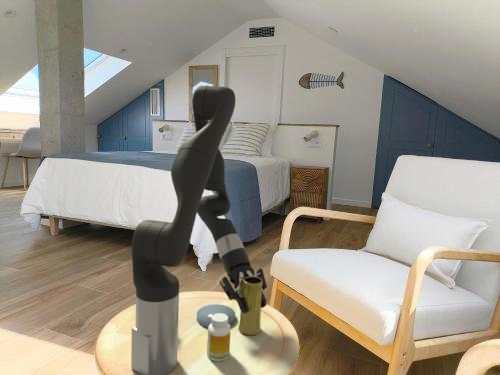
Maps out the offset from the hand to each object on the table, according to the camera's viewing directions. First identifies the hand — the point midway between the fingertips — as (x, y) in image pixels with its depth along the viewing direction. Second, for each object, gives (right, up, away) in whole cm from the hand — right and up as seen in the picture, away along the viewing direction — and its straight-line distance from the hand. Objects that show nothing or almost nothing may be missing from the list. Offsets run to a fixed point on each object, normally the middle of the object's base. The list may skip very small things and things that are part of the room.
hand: (255, 309), depth 94 cm
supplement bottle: (-9, -8, -9) cm, 15 cm away
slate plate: (-11, -5, +7) cm, 14 cm away
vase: (-2, -6, +2) cm, 7 cm away
